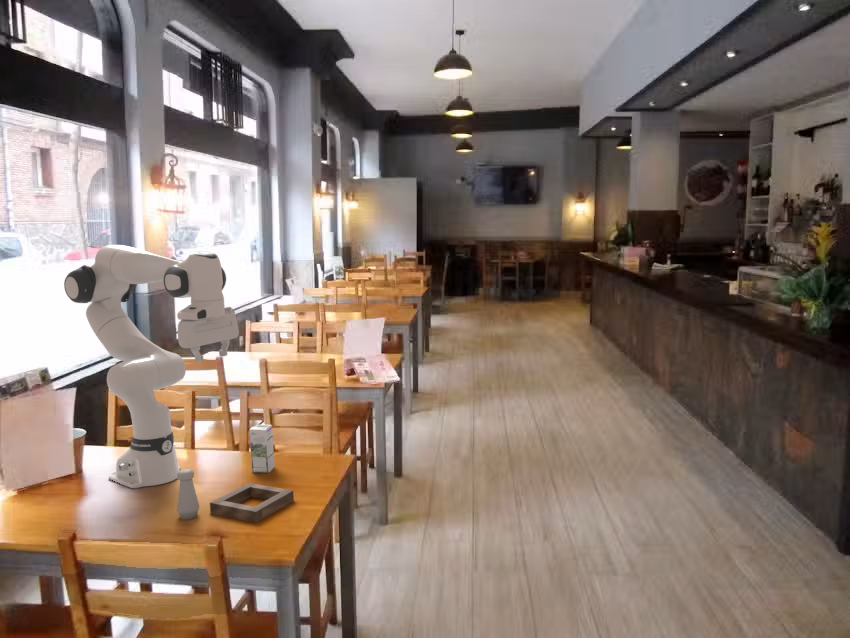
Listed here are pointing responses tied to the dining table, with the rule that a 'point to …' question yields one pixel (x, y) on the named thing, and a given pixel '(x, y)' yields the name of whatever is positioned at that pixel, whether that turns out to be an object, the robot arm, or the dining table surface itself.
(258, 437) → the syrup box
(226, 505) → the walnut socket
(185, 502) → the salt shaker
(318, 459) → the dining table surface
